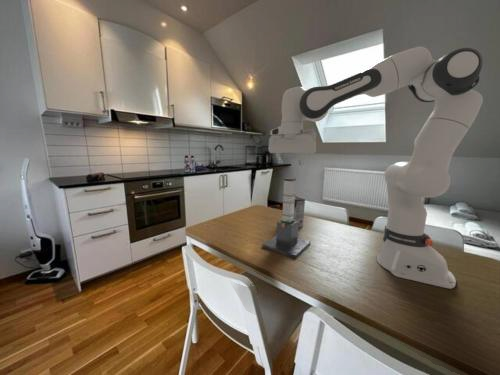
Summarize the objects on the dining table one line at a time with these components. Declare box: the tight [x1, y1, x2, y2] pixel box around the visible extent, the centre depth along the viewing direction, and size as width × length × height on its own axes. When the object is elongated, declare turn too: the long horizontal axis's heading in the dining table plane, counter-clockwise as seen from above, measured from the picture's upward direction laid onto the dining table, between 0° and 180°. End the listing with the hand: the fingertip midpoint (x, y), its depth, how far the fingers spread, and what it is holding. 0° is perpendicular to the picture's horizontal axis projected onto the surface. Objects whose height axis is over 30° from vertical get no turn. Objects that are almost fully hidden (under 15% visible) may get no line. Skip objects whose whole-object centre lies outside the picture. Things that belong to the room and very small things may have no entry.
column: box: [281, 177, 297, 224], centre depth 89 cm, size 4×4×23 cm
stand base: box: [261, 219, 311, 260], centre depth 92 cm, size 16×16×12 cm
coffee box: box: [293, 195, 306, 228], centre depth 118 cm, size 9×6×16 cm
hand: (290, 164), depth 86 cm, fingers open, 8 cm apart
